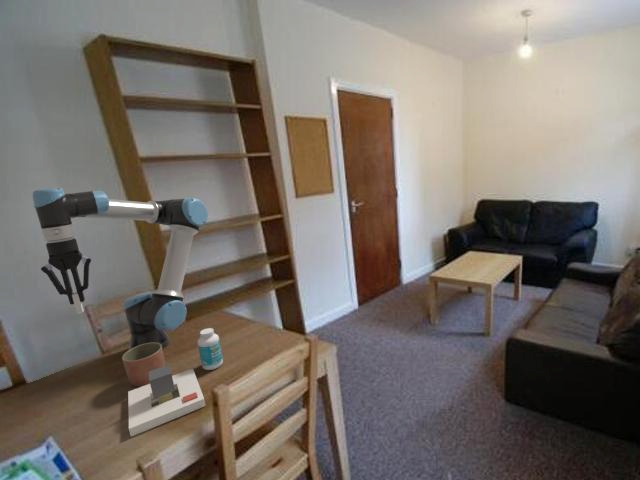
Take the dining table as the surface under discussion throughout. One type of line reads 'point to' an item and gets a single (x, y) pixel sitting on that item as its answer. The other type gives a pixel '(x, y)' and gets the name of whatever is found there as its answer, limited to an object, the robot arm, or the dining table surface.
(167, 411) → the socket plate
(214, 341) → the pill bottle
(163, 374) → the plug
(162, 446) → the dining table surface
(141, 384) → the planter
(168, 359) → the dining table surface
